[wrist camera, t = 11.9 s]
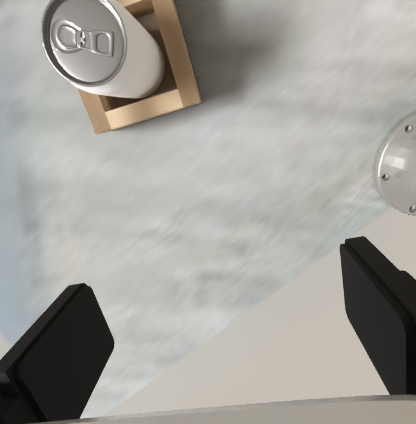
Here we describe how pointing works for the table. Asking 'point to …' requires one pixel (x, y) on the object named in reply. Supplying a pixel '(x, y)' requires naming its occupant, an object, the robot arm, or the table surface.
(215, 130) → the table surface
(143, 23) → the socket block
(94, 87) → the can
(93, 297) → the robot arm
